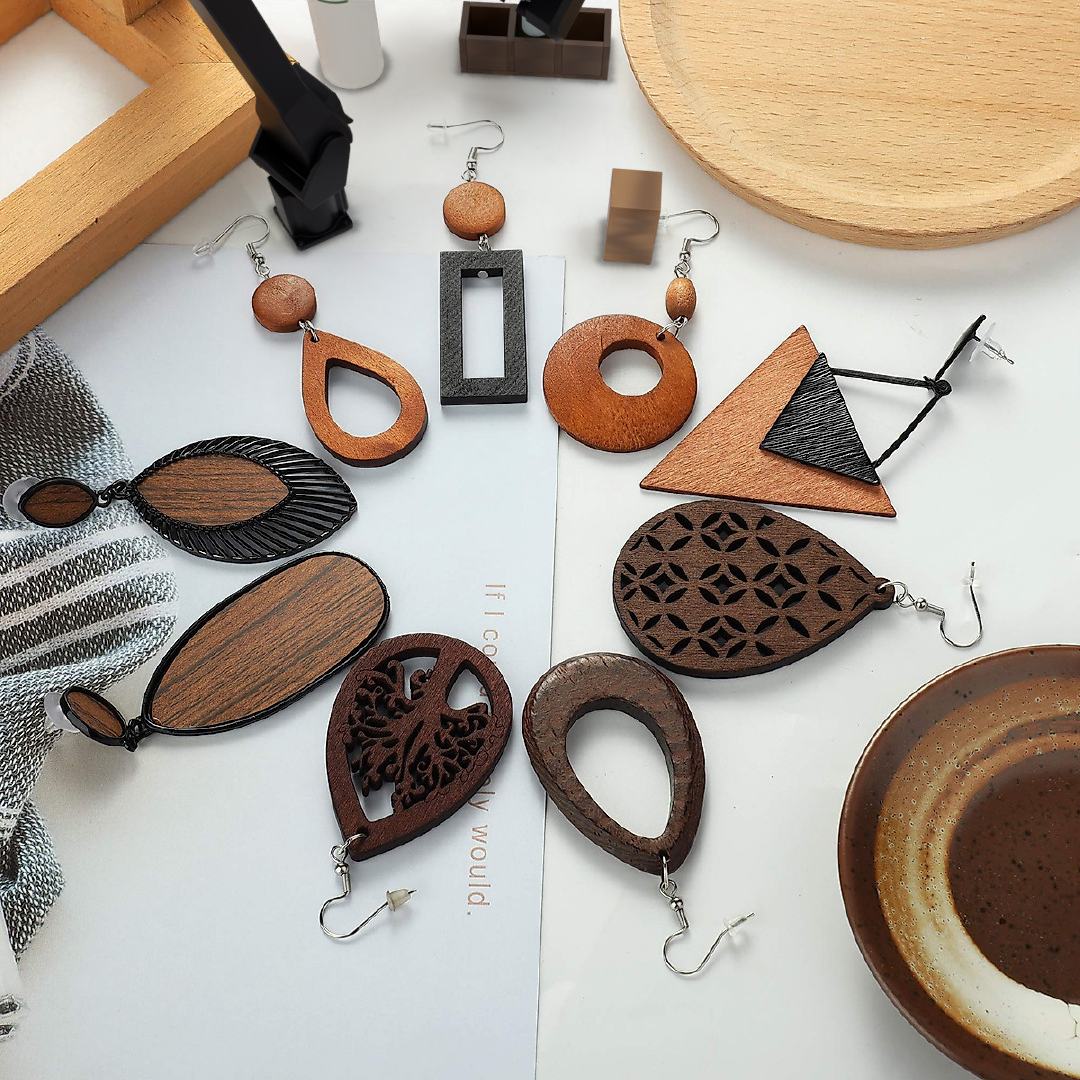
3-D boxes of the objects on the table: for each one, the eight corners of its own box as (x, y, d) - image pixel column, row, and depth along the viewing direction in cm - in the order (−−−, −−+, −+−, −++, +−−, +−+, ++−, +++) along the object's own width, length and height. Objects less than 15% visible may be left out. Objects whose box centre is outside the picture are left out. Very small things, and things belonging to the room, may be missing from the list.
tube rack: (460, 72, 113) (458, 38, 109) (465, 35, 115) (463, 0, 111) (607, 80, 113) (610, 46, 108) (608, 42, 115) (611, 8, 111)
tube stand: (603, 261, 102) (609, 206, 95) (606, 223, 104) (612, 167, 97) (651, 264, 102) (660, 210, 95) (652, 227, 104) (662, 171, 97)
